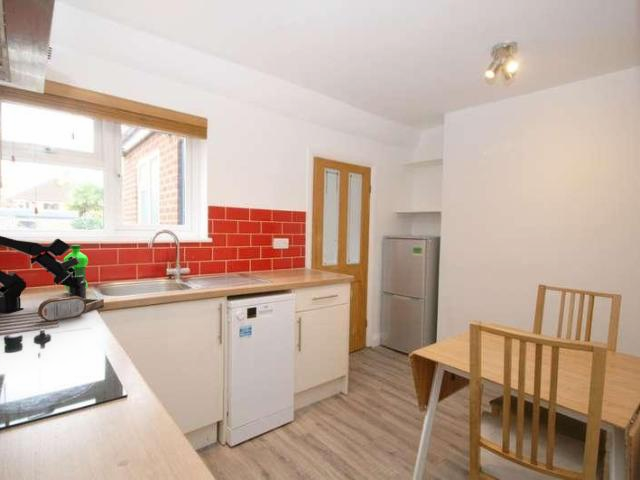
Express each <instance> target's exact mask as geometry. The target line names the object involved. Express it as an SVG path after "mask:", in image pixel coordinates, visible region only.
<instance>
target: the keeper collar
mask: <svg viewBox="0 0 640 480" xmlns="http://www.w3.org/2000/svg"><path fill="white" fill-rule="evenodd" d="M82 299H83V300H84V301H85V302H86V309H85V311H84V312H83V313H82V314H85V313H88V312H90V311H93V310H96V309H98V308H102V307H104V306H105V304H104V303H105V302H104V299H102V298H86V299H84V298H82Z"/></svg>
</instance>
